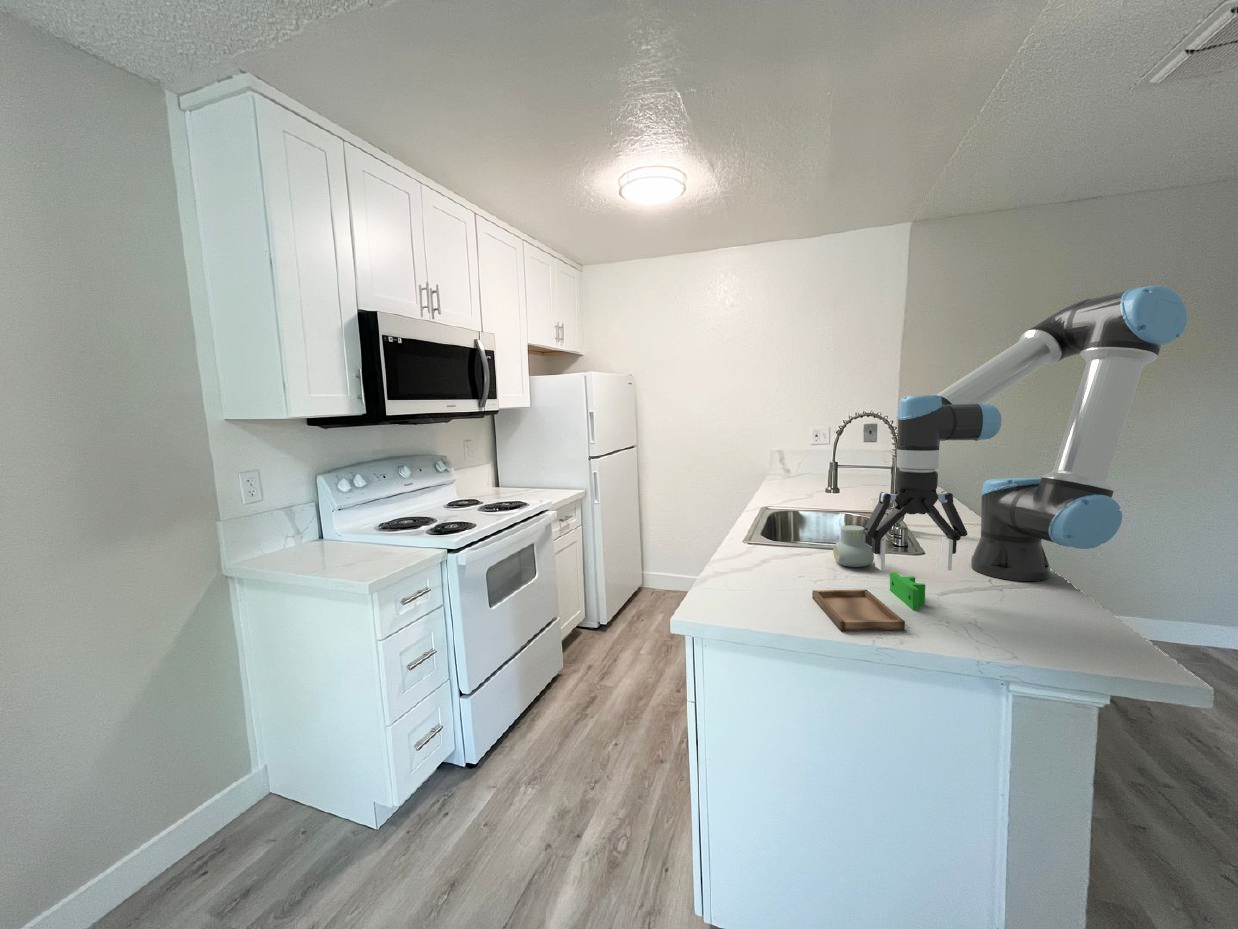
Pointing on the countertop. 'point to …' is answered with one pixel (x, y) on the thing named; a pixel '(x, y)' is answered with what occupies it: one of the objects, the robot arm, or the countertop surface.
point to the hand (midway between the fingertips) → (912, 568)
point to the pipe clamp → (907, 590)
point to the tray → (857, 611)
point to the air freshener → (853, 548)
